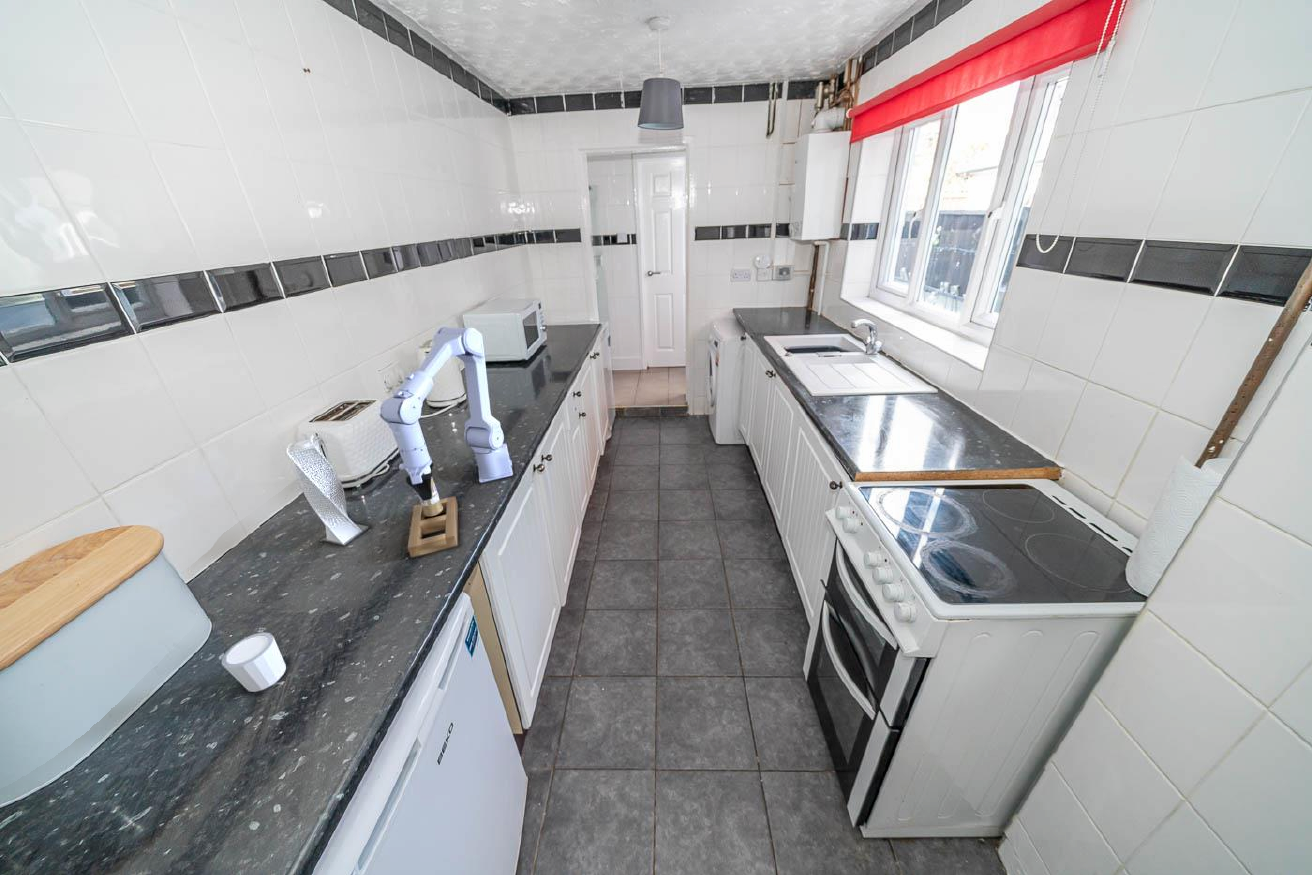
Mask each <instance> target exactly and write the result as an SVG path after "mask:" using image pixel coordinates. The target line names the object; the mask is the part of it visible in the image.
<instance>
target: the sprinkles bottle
mask: <svg viewBox="0 0 1312 875" xmlns="http://www.w3.org/2000/svg"><path fill="white" fill-rule="evenodd" d="M429 473H431V469H430V466H429V467H428V468H427V469H426V471H425V472H424V474H429ZM436 486H437V485H436V484H435V481H434V478H433V477H432V479H431V489H432V499H429V500H425V501H423V500H422V499H421V498H420V496H419V495H418V493H417V492H416V495H417V497H418V500H419V502H420V504H421V505H422V507H423V510H424V515H426V516H428V517H434V516H435V517H436V516H437V515H439V513H440V512H442V510H443V507H442V505H441V502H440V500H441V499H440V496H439V493H438V490H437V487H436ZM440 514H441V513H440Z"/></svg>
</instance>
